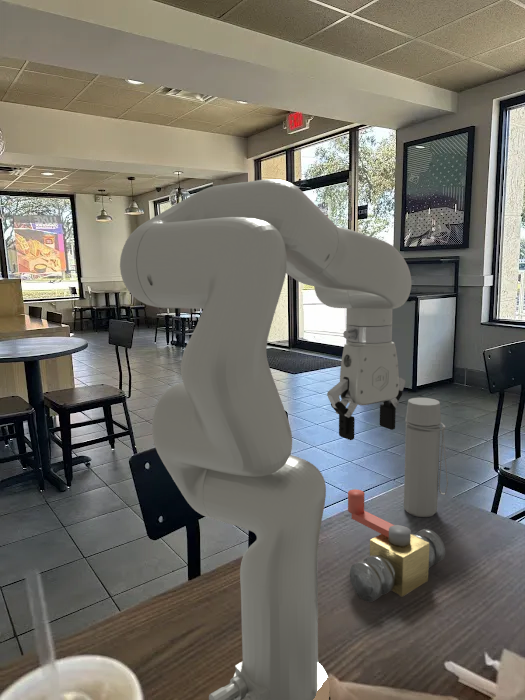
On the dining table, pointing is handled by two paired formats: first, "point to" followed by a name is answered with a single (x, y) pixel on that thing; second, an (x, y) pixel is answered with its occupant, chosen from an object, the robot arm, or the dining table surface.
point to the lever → (376, 520)
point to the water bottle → (423, 456)
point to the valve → (396, 565)
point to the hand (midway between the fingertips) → (367, 432)
